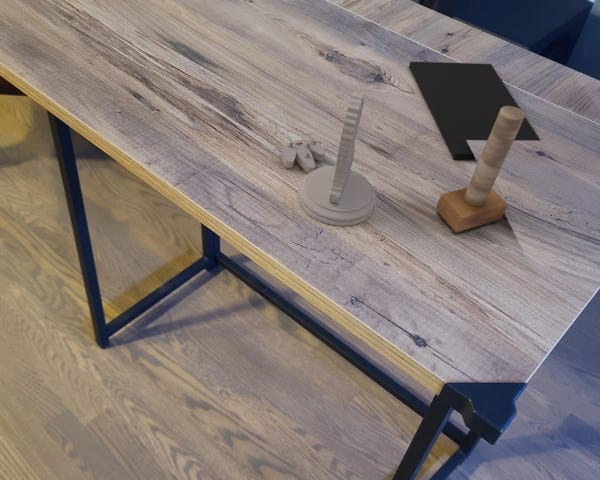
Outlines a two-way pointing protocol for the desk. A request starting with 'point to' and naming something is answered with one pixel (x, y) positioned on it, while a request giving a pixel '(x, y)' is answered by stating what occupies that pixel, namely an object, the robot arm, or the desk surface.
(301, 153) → the game controller
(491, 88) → the notched black mat
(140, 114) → the desk surface
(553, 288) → the desk surface
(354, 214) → the grey upright stand
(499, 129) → the wooden peg stand
